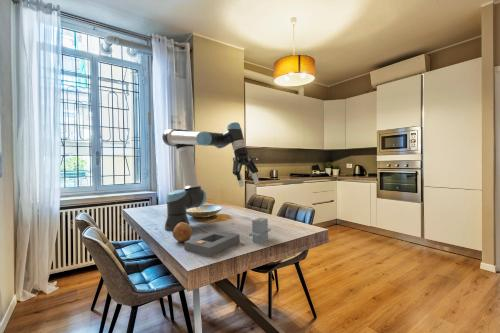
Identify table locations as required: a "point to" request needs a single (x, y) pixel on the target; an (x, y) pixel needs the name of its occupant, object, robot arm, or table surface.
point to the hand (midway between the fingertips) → (249, 185)
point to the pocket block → (212, 243)
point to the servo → (260, 230)
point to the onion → (182, 232)
